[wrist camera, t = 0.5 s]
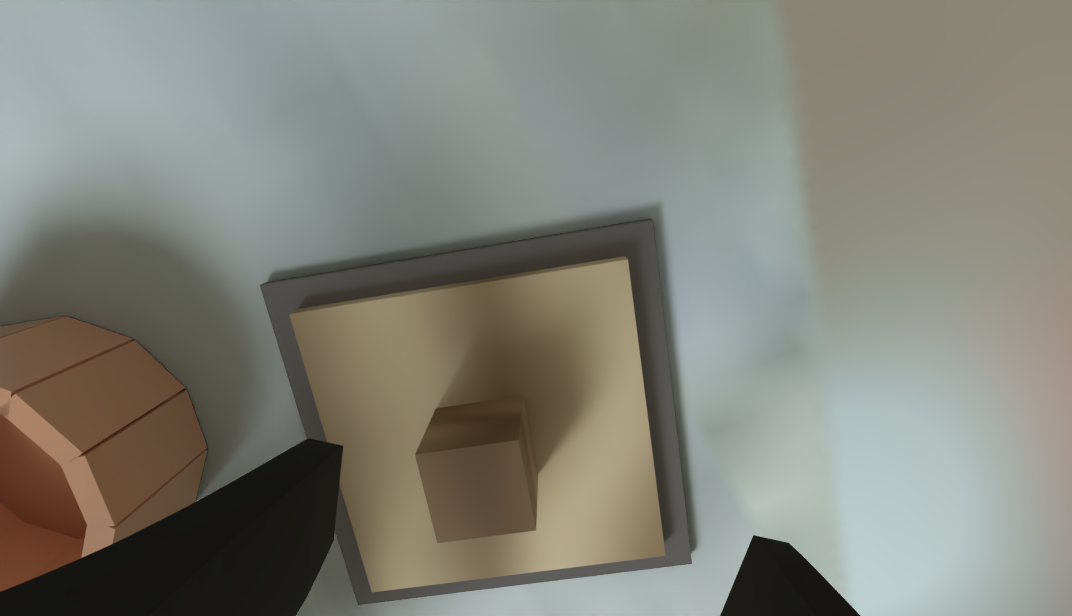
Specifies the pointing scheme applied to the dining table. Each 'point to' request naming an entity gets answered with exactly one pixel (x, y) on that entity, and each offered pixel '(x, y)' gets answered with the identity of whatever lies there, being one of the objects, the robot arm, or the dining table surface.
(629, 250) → the mat
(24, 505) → the bowl
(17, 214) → the dining table surface
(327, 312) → the lid
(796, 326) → the dining table surface
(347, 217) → the dining table surface
